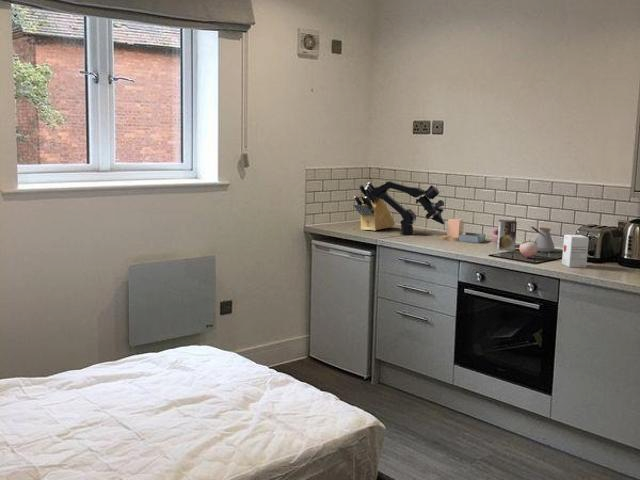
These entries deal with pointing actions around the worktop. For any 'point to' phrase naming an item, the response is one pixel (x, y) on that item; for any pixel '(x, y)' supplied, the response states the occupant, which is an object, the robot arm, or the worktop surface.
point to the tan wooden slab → (448, 238)
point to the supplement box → (575, 250)
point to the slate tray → (472, 237)
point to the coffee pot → (544, 240)
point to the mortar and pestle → (495, 235)
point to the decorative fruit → (528, 248)
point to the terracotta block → (454, 227)
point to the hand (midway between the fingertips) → (443, 223)
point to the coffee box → (506, 235)
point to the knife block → (373, 210)
